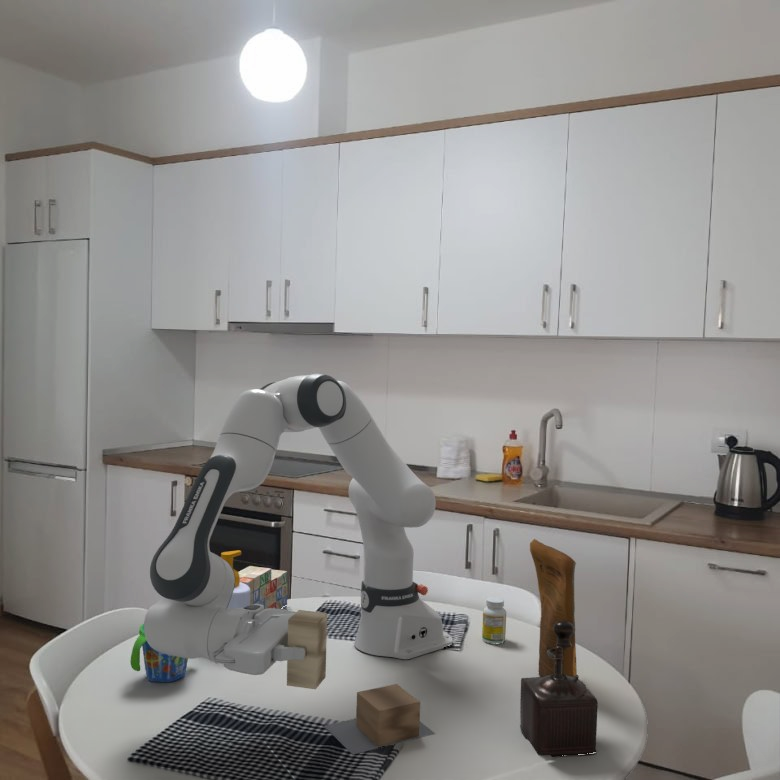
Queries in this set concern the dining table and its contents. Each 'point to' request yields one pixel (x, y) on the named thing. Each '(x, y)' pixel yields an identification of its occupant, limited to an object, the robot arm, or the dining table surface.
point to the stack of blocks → (265, 586)
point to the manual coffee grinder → (558, 707)
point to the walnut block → (387, 714)
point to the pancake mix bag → (554, 604)
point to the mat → (363, 736)
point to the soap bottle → (237, 584)
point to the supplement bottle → (494, 621)
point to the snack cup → (157, 661)
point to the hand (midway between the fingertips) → (312, 646)
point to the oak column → (313, 635)
